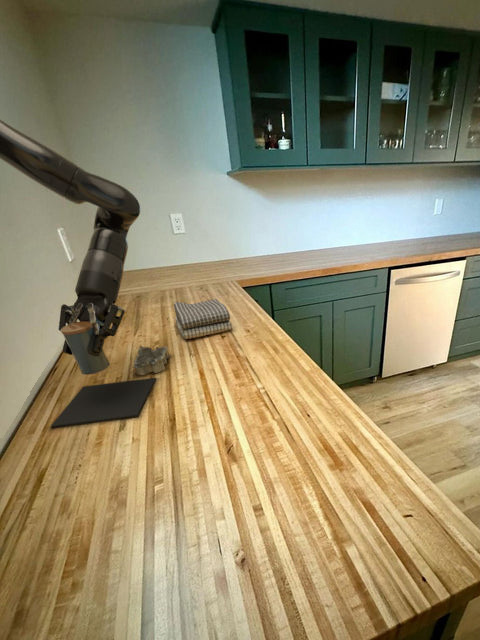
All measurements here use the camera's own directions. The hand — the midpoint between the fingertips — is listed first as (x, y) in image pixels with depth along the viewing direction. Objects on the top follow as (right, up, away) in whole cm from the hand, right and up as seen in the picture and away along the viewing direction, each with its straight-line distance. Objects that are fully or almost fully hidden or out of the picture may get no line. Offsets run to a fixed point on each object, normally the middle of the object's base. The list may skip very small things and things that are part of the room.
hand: (81, 354), depth 67 cm
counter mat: (+1, -10, +7) cm, 13 cm away
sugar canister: (+1, -3, +4) cm, 5 cm away
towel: (+13, +11, +42) cm, 45 cm away
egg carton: (+5, -2, +21) cm, 22 cm away
